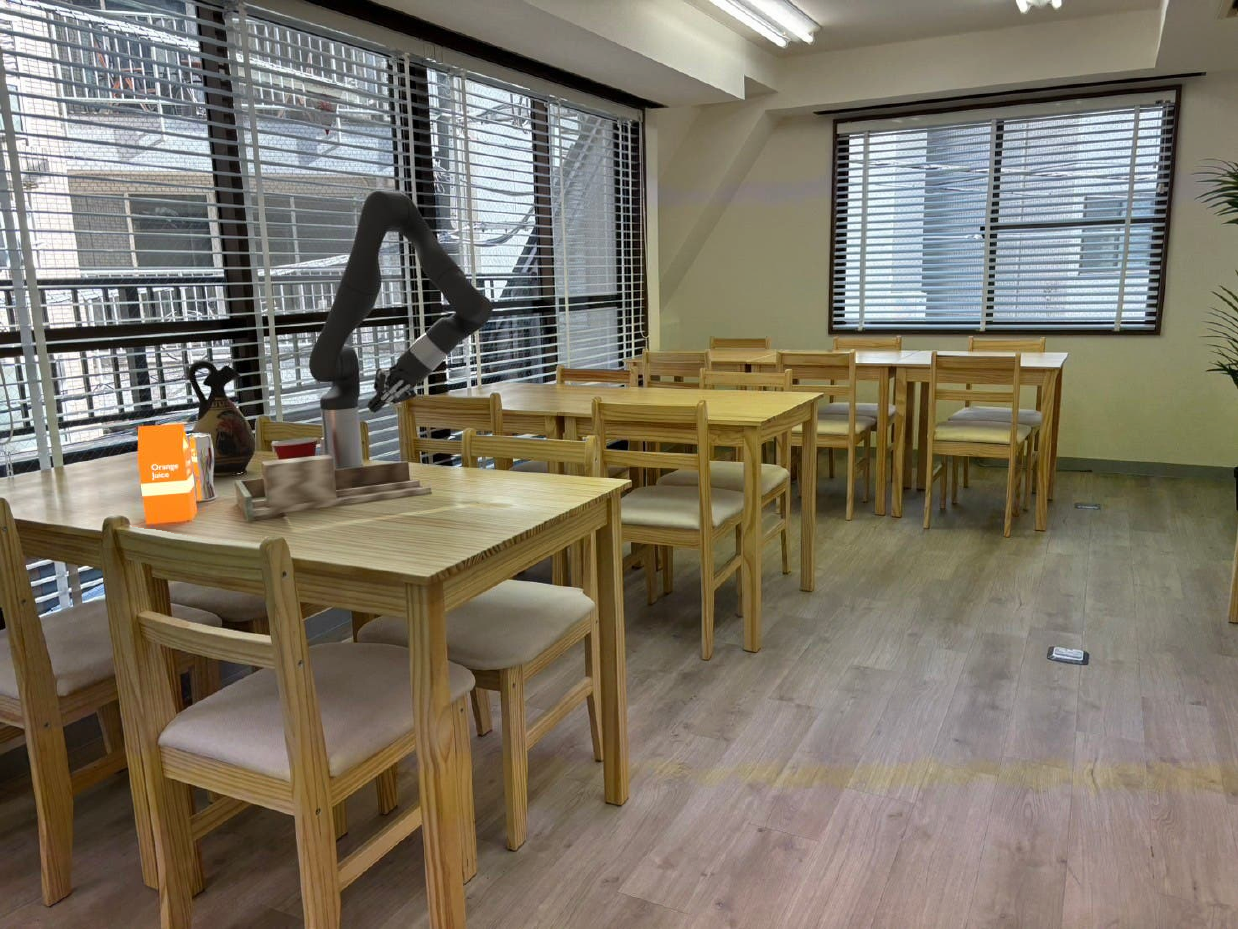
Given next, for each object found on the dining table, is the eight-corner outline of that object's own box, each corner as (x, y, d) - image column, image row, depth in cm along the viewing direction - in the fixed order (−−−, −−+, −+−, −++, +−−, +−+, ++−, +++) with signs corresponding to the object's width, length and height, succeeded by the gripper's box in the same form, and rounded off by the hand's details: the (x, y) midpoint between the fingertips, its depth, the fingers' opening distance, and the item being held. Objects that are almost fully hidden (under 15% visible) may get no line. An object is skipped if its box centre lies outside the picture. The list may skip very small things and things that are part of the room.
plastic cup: (304, 481, 227) (300, 434, 225) (332, 486, 221) (327, 437, 219) (266, 490, 219) (261, 440, 216) (293, 494, 212) (288, 444, 210)
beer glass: (212, 494, 216) (205, 431, 213) (223, 498, 211) (216, 434, 208) (181, 499, 211) (173, 435, 208) (192, 503, 206) (184, 438, 203)
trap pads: (304, 499, 204) (304, 498, 204) (299, 493, 210) (299, 492, 210) (393, 488, 213) (393, 486, 213) (385, 482, 219) (385, 481, 219)
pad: (252, 506, 199) (252, 504, 199) (248, 500, 205) (248, 498, 205) (290, 501, 202) (290, 499, 202) (285, 495, 208) (285, 494, 208)
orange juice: (192, 520, 191) (180, 426, 187) (145, 524, 189) (133, 429, 185) (197, 511, 198) (186, 421, 195) (153, 515, 196) (141, 424, 192)
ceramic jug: (252, 465, 251) (240, 356, 246) (262, 474, 238) (250, 359, 233) (185, 473, 243) (171, 360, 237) (192, 482, 230) (177, 364, 224)
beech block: (269, 511, 193) (265, 465, 191) (266, 507, 197) (261, 461, 195) (337, 502, 200) (333, 457, 198) (332, 498, 204) (328, 454, 202)
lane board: (247, 521, 189) (245, 496, 188) (237, 503, 205) (234, 480, 204) (432, 496, 207) (430, 474, 206) (408, 481, 223) (407, 460, 222)
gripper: (433, 359, 216) (382, 409, 218) (397, 335, 205) (344, 388, 207) (447, 378, 212) (395, 429, 214) (411, 355, 201) (357, 409, 203)
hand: (370, 409), depth 210 cm, fingers closed
